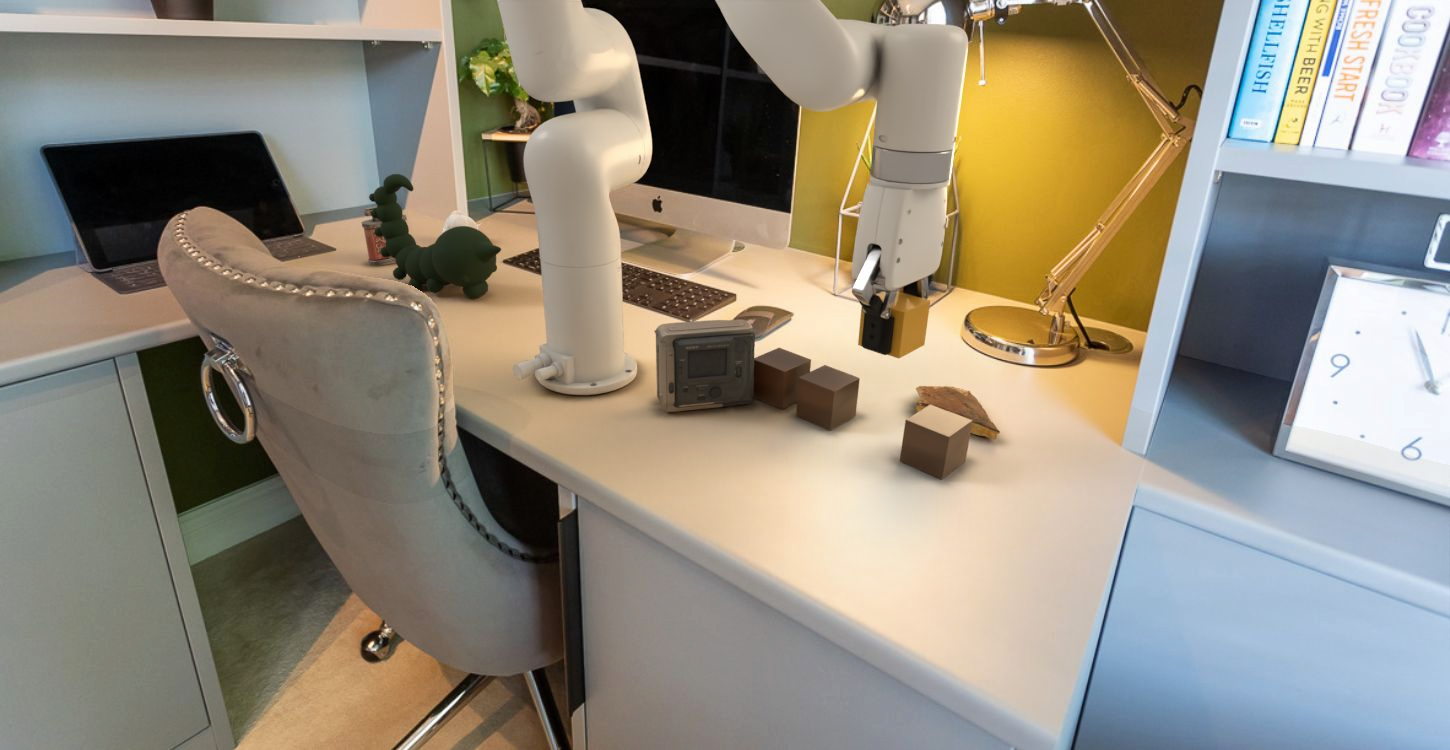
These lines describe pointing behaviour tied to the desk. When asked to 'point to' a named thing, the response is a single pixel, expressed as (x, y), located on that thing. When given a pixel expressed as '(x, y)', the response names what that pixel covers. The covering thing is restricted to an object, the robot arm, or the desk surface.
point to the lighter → (375, 240)
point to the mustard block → (905, 323)
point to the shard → (958, 407)
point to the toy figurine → (433, 248)
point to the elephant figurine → (459, 221)
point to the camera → (704, 364)
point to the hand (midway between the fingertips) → (891, 341)
